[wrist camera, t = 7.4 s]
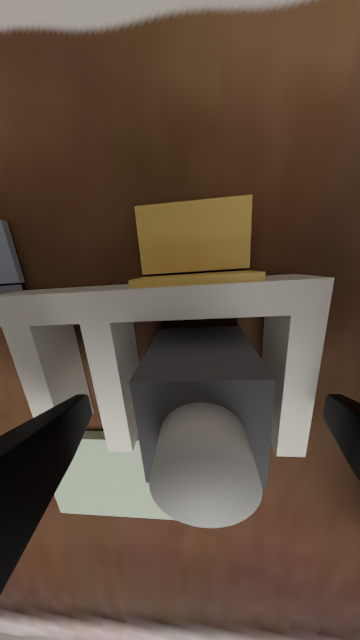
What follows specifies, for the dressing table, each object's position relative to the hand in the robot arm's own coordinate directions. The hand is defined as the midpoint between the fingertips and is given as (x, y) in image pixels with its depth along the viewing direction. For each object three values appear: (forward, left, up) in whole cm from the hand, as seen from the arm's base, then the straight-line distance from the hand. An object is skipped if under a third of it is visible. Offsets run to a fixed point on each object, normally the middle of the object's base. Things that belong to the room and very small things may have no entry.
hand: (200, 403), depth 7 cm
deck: (+6, +8, -3) cm, 10 cm away
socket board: (+6, -1, -3) cm, 6 cm away
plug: (0, 0, -3) cm, 3 cm away
